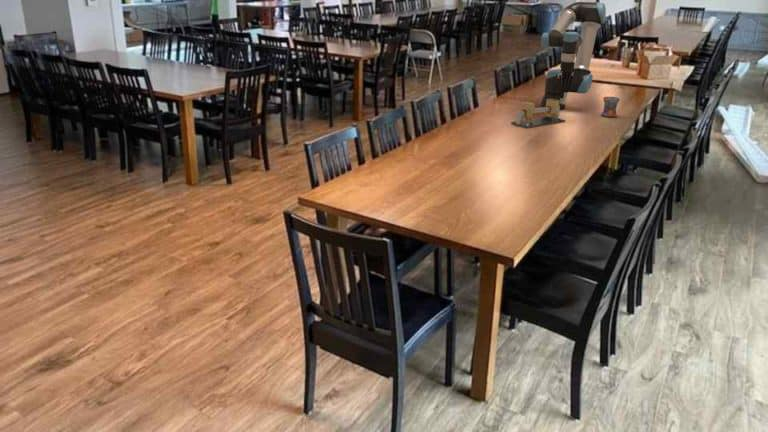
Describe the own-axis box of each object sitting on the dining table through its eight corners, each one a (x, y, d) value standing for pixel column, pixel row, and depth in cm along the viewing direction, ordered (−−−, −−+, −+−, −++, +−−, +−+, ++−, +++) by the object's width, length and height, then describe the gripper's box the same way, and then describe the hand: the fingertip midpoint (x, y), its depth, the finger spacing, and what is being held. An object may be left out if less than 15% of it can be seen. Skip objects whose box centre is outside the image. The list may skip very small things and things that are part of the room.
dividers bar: (514, 123, 336) (516, 103, 332) (553, 116, 351) (555, 97, 347) (523, 125, 331) (525, 105, 326) (562, 119, 345) (565, 100, 341)
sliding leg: (544, 117, 347) (546, 99, 343) (549, 116, 349) (551, 98, 345) (554, 119, 342) (556, 101, 338) (559, 119, 344) (561, 100, 340)
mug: (614, 118, 353) (617, 100, 349) (598, 116, 358) (601, 98, 354) (620, 114, 362) (623, 97, 357) (605, 112, 367) (607, 95, 363)
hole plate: (511, 123, 339) (511, 121, 338) (549, 117, 353) (550, 114, 353) (526, 128, 329) (526, 125, 329) (565, 121, 344) (565, 119, 343)
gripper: (564, 62, 329) (559, 106, 338) (581, 61, 335) (575, 103, 344) (554, 61, 335) (549, 103, 344) (570, 59, 341) (565, 101, 350)
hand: (562, 103), depth 344 cm, fingers closed
